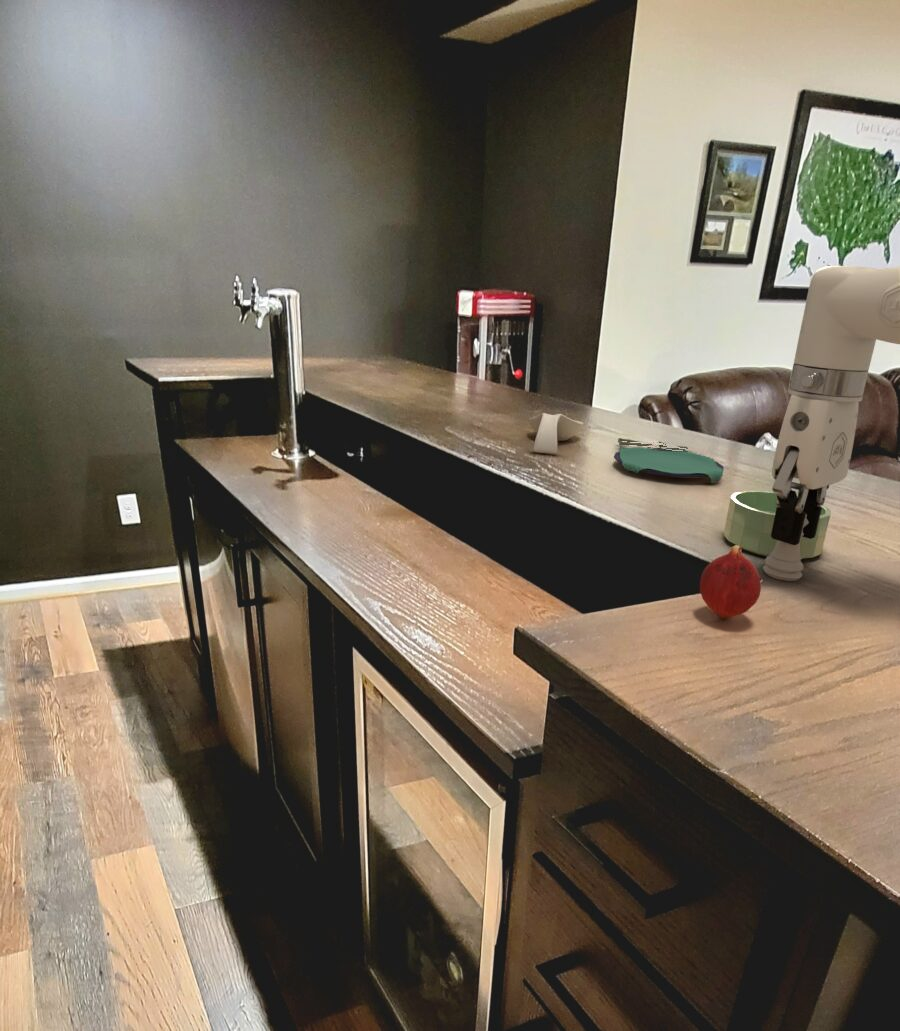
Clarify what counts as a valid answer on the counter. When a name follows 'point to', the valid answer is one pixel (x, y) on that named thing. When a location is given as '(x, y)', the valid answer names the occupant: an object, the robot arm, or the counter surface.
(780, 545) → the rook chess piece
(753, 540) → the green round tub
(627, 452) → the cutlery set
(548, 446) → the spoon rest
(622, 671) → the counter surface
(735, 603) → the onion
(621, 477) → the counter surface
